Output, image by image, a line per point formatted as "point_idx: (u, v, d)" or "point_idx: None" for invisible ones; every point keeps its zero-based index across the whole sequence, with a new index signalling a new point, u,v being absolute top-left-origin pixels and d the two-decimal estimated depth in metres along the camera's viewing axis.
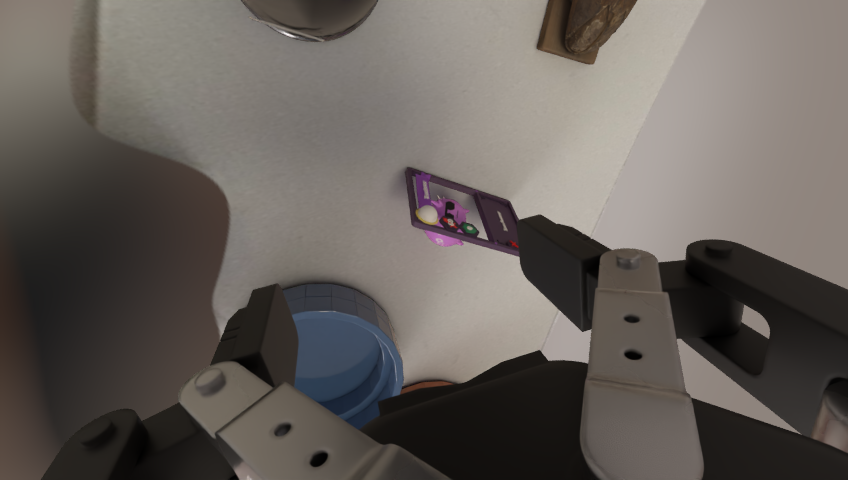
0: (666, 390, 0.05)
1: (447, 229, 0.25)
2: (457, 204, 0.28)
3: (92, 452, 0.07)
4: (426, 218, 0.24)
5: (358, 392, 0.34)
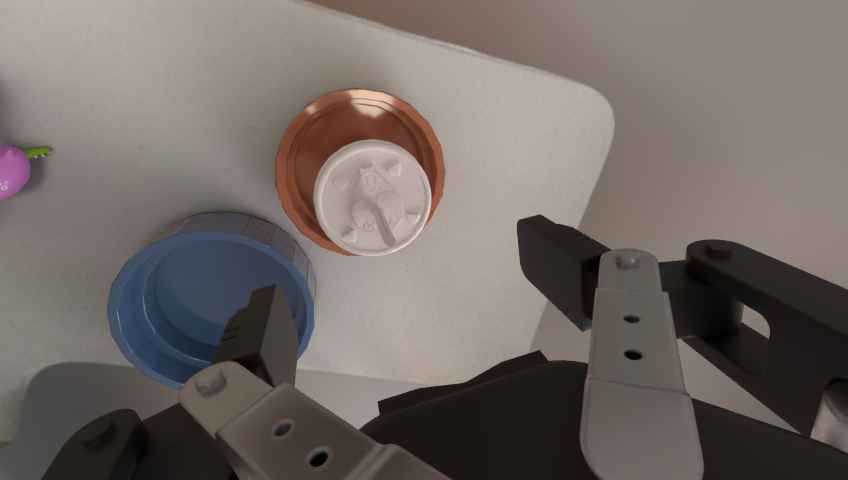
0: (666, 390, 0.05)
1: None
2: None
3: (92, 453, 0.07)
4: None
5: None
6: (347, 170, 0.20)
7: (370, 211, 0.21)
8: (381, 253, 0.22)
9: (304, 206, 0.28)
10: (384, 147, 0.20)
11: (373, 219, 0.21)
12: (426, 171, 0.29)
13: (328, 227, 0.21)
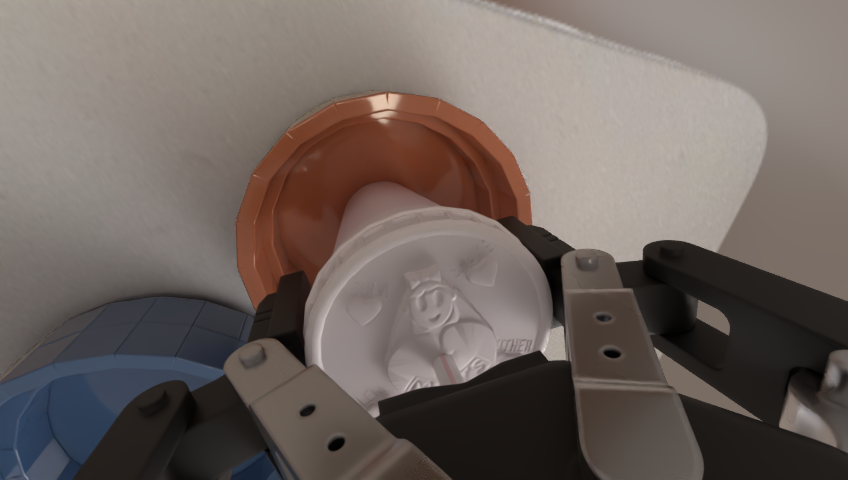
0: (666, 390, 0.05)
1: None
2: None
3: (146, 419, 0.07)
4: None
5: None
6: (380, 282, 0.09)
7: (428, 362, 0.10)
8: None
9: None
10: (466, 229, 0.09)
11: (433, 376, 0.10)
12: None
13: None
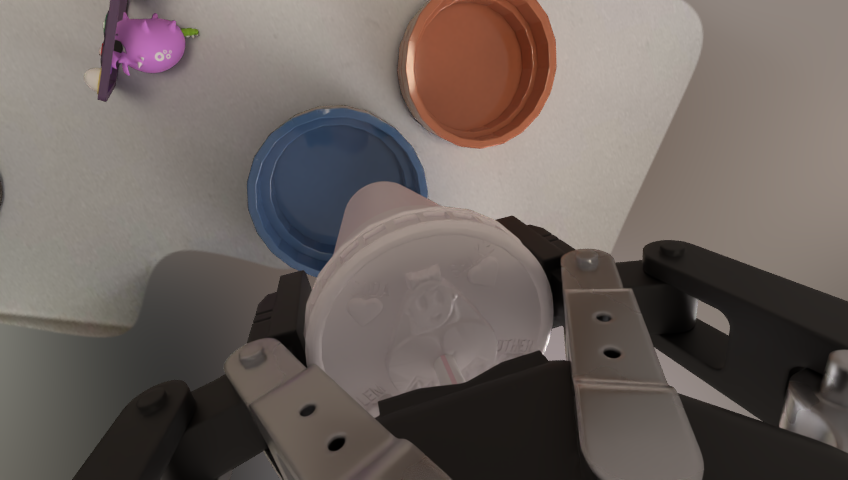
0: (666, 390, 0.05)
1: (103, 58, 0.22)
2: None
3: (146, 419, 0.07)
4: (94, 84, 0.22)
5: None
6: (381, 282, 0.09)
7: (429, 362, 0.10)
8: None
9: (420, 99, 0.30)
10: (466, 229, 0.09)
11: (434, 376, 0.10)
12: (533, 71, 0.31)
13: None
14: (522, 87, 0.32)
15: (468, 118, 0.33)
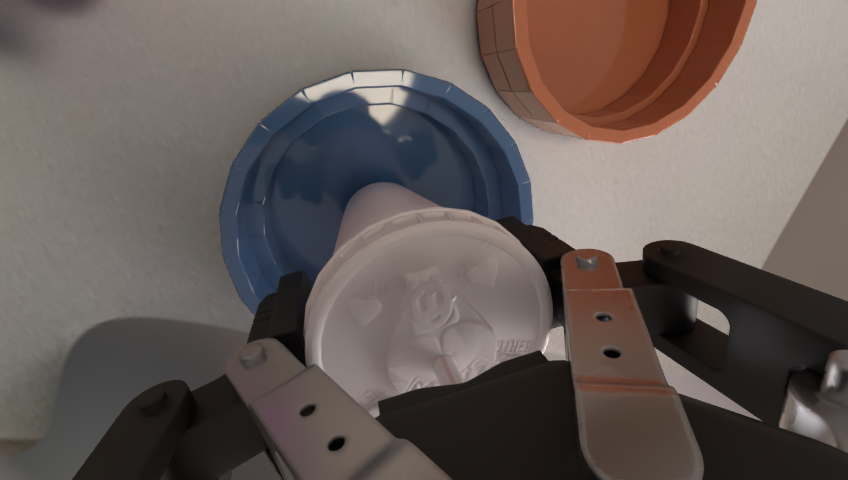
0: (666, 390, 0.05)
1: None
2: None
3: (146, 419, 0.07)
4: None
5: (462, 148, 0.19)
6: (381, 283, 0.09)
7: (428, 363, 0.10)
8: None
9: None
10: (466, 230, 0.09)
11: (433, 377, 0.10)
12: (700, 14, 0.19)
13: None
14: (672, 44, 0.20)
15: (580, 96, 0.21)
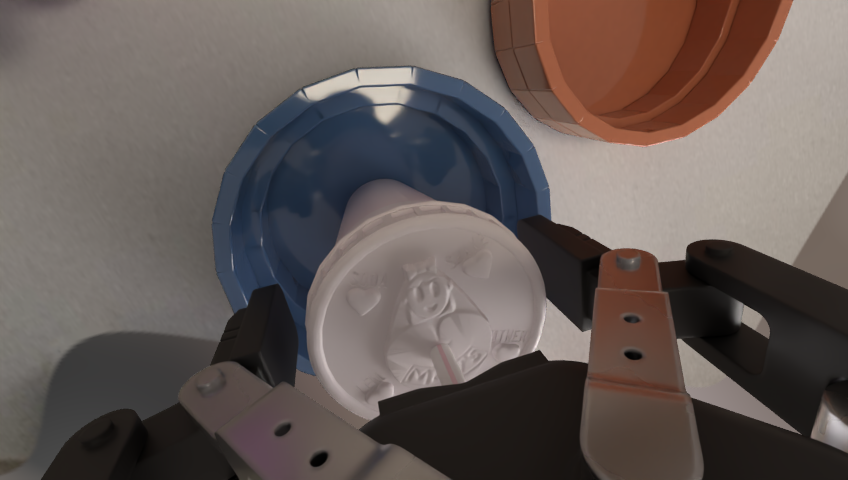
0: (666, 390, 0.05)
1: None
2: None
3: (92, 452, 0.07)
4: None
5: (474, 151, 0.18)
6: (380, 273, 0.09)
7: (425, 351, 0.10)
8: None
9: None
10: (461, 222, 0.09)
11: (430, 365, 0.10)
12: (731, 6, 0.17)
13: (337, 385, 0.10)
14: (699, 39, 0.19)
15: (600, 95, 0.19)
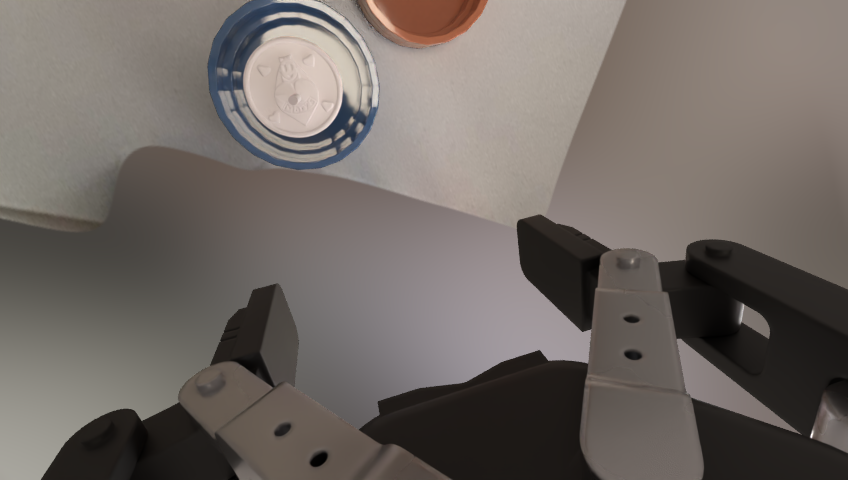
0: (666, 390, 0.05)
1: None
2: None
3: (91, 452, 0.07)
4: None
5: (347, 50, 0.34)
6: (269, 59, 0.25)
7: (290, 95, 0.26)
8: (302, 135, 0.27)
9: None
10: (299, 40, 0.25)
11: None
12: None
13: (256, 108, 0.26)
14: None
15: (419, 24, 0.36)
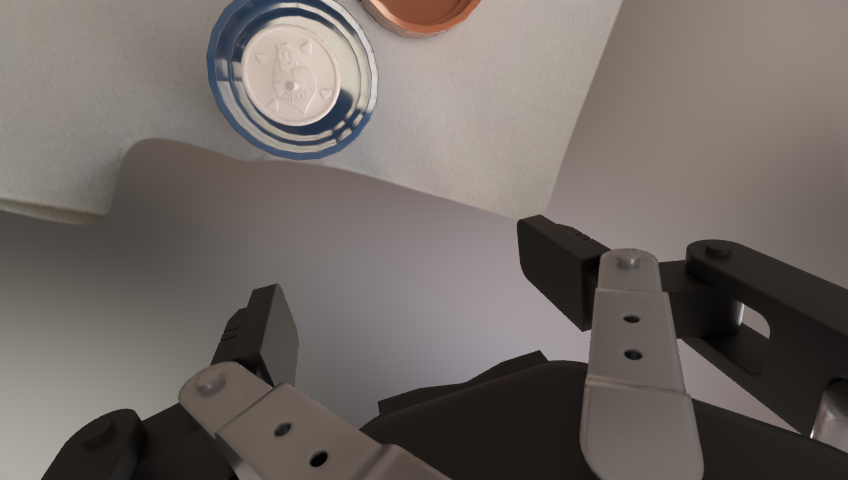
0: (666, 390, 0.05)
1: None
2: None
3: (92, 453, 0.07)
4: None
5: (346, 40, 0.34)
6: (267, 46, 0.25)
7: None
8: (300, 123, 0.27)
9: None
10: (296, 28, 0.25)
11: (291, 91, 0.26)
12: None
13: (254, 96, 0.26)
14: None
15: (418, 14, 0.36)
